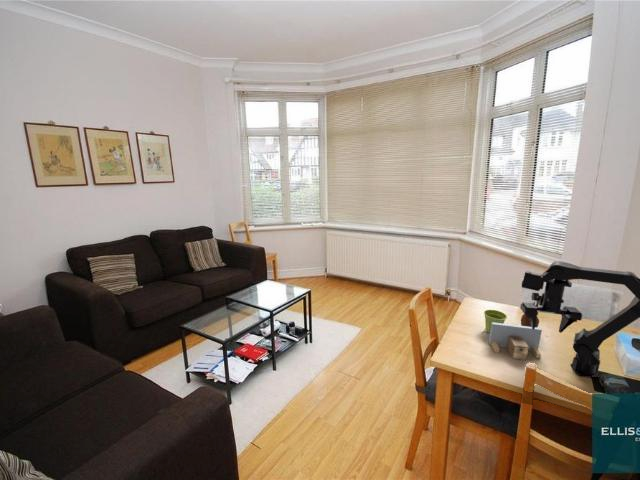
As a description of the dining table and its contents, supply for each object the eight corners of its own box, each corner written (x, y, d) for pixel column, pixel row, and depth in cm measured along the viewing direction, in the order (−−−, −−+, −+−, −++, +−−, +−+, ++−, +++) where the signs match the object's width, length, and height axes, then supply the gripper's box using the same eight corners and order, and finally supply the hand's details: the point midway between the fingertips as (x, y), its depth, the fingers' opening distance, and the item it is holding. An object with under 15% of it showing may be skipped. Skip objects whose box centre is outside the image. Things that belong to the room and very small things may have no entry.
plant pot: (477, 328, 144) (479, 312, 142) (489, 323, 148) (492, 307, 146) (495, 338, 136) (498, 321, 134) (508, 333, 140) (511, 316, 138)
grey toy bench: (536, 349, 128) (540, 328, 126) (542, 358, 122) (546, 336, 120) (488, 342, 133) (491, 322, 130) (492, 351, 127) (495, 330, 124)
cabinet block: (520, 350, 128) (522, 337, 126) (526, 361, 121) (529, 348, 119) (507, 348, 129) (509, 335, 128) (512, 359, 122) (514, 346, 121)
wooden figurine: (537, 330, 142) (543, 300, 138) (535, 335, 138) (541, 305, 134) (520, 325, 146) (525, 296, 143) (518, 330, 142) (523, 300, 138)
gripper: (571, 288, 121) (564, 323, 125) (518, 283, 126) (513, 317, 130) (587, 300, 111) (578, 338, 115) (528, 295, 116) (522, 331, 120)
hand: (546, 330), depth 120 cm, fingers open, 9 cm apart
